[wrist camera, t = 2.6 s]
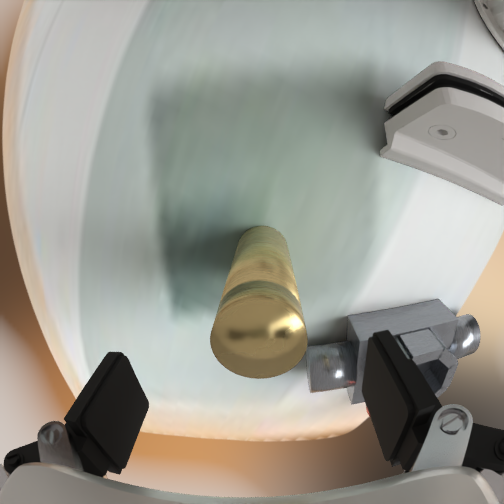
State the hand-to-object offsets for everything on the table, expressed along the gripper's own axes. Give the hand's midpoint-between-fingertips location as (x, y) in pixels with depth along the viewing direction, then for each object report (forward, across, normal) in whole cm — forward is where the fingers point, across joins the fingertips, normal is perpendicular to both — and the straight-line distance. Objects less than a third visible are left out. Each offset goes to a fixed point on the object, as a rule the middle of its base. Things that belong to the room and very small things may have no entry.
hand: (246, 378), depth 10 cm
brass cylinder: (+14, -1, 0) cm, 14 cm away
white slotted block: (+14, -20, -9) cm, 25 cm away
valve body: (+14, -13, +12) cm, 22 cm away
